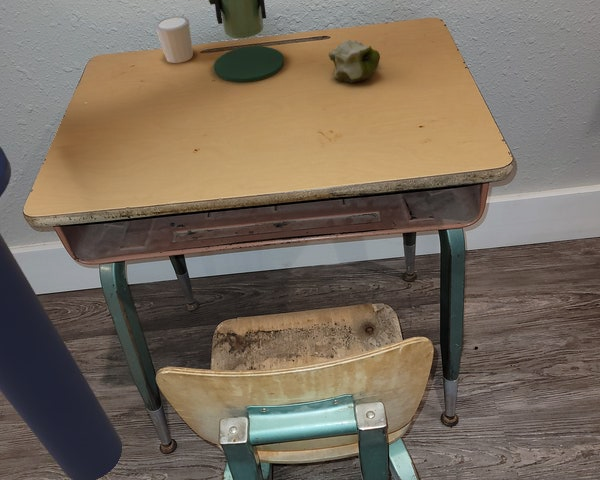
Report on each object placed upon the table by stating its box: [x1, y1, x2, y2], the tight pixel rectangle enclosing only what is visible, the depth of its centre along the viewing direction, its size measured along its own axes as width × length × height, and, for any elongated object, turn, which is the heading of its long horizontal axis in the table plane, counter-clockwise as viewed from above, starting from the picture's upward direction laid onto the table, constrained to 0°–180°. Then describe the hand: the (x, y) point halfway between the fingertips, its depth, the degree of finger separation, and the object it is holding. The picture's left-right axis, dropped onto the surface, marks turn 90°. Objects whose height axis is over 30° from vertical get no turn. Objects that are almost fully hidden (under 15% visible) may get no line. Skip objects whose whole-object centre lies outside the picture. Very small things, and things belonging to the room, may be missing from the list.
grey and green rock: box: [328, 39, 381, 84], centre depth 110 cm, size 9×9×8 cm
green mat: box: [213, 45, 285, 83], centre depth 119 cm, size 14×14×1 cm
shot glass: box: [154, 15, 194, 64], centre depth 122 cm, size 7×7×7 cm
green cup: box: [219, 0, 264, 39], centre depth 110 cm, size 7×7×10 cm
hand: (241, 17), depth 109 cm, fingers closed on green cup, 7 cm apart
